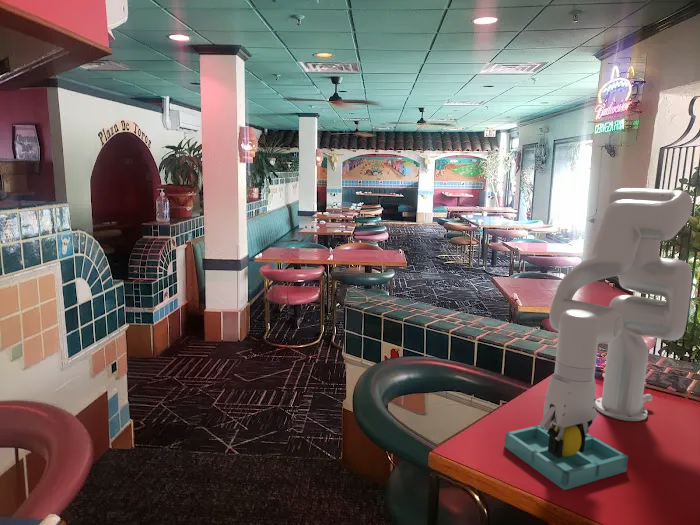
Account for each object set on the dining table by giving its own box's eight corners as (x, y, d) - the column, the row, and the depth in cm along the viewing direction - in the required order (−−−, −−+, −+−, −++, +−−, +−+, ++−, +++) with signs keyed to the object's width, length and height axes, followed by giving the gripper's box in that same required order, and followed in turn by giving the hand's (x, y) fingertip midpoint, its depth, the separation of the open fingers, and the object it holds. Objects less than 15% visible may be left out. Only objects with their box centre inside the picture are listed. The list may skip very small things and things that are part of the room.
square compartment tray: (562, 432, 128) (563, 419, 127) (626, 471, 112) (628, 456, 111) (504, 446, 121) (505, 432, 120) (564, 490, 105) (565, 474, 104)
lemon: (582, 465, 107) (586, 429, 106) (553, 461, 108) (557, 425, 107) (576, 451, 112) (580, 416, 111) (549, 448, 114) (552, 413, 112)
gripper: (590, 359, 114) (581, 436, 117) (528, 369, 107) (521, 451, 110) (620, 371, 107) (610, 452, 110) (556, 383, 100) (548, 469, 103)
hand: (565, 451), depth 110 cm, fingers closed on lemon, 5 cm apart
